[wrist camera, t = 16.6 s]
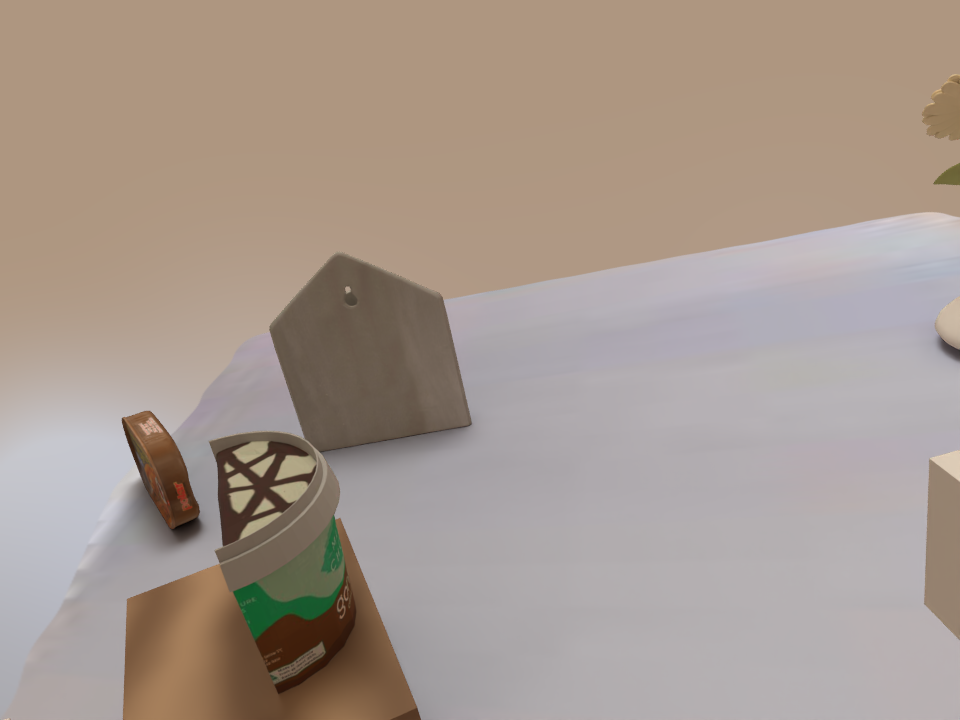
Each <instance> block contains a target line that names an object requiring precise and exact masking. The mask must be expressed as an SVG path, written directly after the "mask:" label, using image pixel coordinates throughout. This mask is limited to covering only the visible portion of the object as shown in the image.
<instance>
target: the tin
mask: <svg viewBox="0 0 960 720" xmlns="http://www.w3.org/2000/svg"><path fill="white" fill-rule="evenodd" d="M122 424H123V428H124V431H125V435H126V438H127V441H128V444H129V447H130V449H131V452H132V454H133V457H134V460H135V462H136V465H137V467H138V470H139V473H140V475H141V478H142V480H143V483H144V485H145V487H146V489H147V491H148V492H149V494H150V496H151V498H152V499H153V501H154V503H155V504H156V506H157V508H158V509H159V511H160V513H161V514H162V516H163V518H164V519H165V521H166V522H167V524H168V526H169V527H170V528H171V529H174V528H175V527H177V526H179V525H181V524H184V523H186V522H188V521H191V520H193V519H195V518H197V517H198V516H199V513H200V510H199V505H198V503H197V501H196V500H195V497H194V495H193V492H192V489H191V486H190V482H189V478H188V472H187V468H186V466H185V463H184V461H183V458H182V456H181V454H180V451H179V450H178V448H177V446H176V444H175V442H174V440H173V439H172V437H171V436H170V435H169V433H168V432H167V430H166V429H165V428H164V427H163V425H162V424H161V423H160V421H159V420H158V419H157V418H156V417H155V415H154V414H153V413H152V412H150V411H144V412H141V413H138V414H135V415H132V416H129V417H123V418H122Z"/></svg>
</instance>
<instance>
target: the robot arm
mask: <svg viewBox="0 0 960 720" xmlns="http://www.w3.org/2000/svg"><path fill="white" fill-rule="evenodd" d="M924 604H925V605H926V606H927V607H928V608H929V609H930V610H931V611H932V612H933V613H934V614H935V615H936V616H937V617H938V618H939V619H940V620H941V621H942V622H943V624H944V625H945V626H946V627H947V628H948V629H949V630H950V631H951V632H952V633H953V634H954V635H955V636H956V637H957V638H958V639H959V640H960V450H958V451H954V452H951V453H947V454H944V455H940V456H936V457H933V458H929V486H928V514H927V542H926V570H925V598H924ZM5 720H11V719H10V718H9V719H5Z"/></svg>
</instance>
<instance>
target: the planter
mask: <svg viewBox="0 0 960 720" xmlns="http://www.w3.org/2000/svg"><path fill="white" fill-rule="evenodd" d="M346 286H349V287H350V288H351V290H350V291H347V292H346V291H345V287H346ZM270 333H271V337H272V340H273V344H274V347H275V350H276V353H277V356H278V359H279V362H280V365H281V368H282V371H283V374H284V377H285V380H286V383H287V386H288V389H289V392H290V395H291V398H292V401H293V404H294V407H295V410H296V413H297V416H298V419H299V422H300V425H301V428H302V431H303V434H304V437H305V440H307V441H308V442H309V443H311V444H312V445H313V446H314V448H316V449H317V450H318V451H319V452H322V451H328V450H334V449H339V448H345V447H351V446H356V445H362V444H368V443H373V442H379V441H385V440H390V439H396V438H402V437H407V436H413V435H418V434H424V433H430V432H435V431H441V430H447V429H452V428H458V427H464V426H469V425H471V417H470V413H469V409H468V404H467V400H466V396H465V391H464V387H463V383H462V378H461V374H460V369H459V365H458V361H457V356H456V352H455V348H454V343H453V339H452V334H451V330H450V326H449V321H448V317H447V313H446V309H445V305H444V301H443V297H442V296H441V294H440V293H438V292H436V291H434V290H431V289H428V288H426V287H424V286H421V285H419V284H417V283H414V282H412V281H410V280H408V279H406V278H403V277H401V276H399V275H396V274H394V273H392V272H389V271H387V270H384V269H382V268H379V267H377V266H375V265H372V264H370V263H368V262H365V261H363V260H360V259H358V258H355V257H353V256H350V255H348V254H345V253H343V252H336V253H335V254H334V255H333V256H332V257H331V258H330V259H329V260H328V261H327V262H326V263H325V264H324V265H323V266H322V267H321V268H320V269H319V271H318V272H317V273H316V274H315V275H314V276H313V277H312V278H311V279H310V280H309V282H308V283H307V284H306V285H305V286H304V287H303V288H302V289H301V290H300V291H299V293H298V294H297V295H296V296H295V297H294V298H293V299H292V300H291V301H290V303H289V304H288V305H287V306H286V307H285V308H284V310H283V311H282V312H281V313H280V314H279V315H278V317H277V318H276V319H275V320H274V321H273V322H272V323H271V325H270Z"/></svg>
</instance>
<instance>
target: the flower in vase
mask: <svg viewBox="0 0 960 720" xmlns="http://www.w3.org/2000/svg"><path fill="white" fill-rule="evenodd" d="M931 98H932V100H933V101H934V102H935V103H932V104H928V105H927V106H926V107H925V108H924V110H923V112H922V116H923V117H924V118H923V120H922V122H923V123H924V124H926V125H931V126H930V127H929V128H928V129H927V135H929V136H933V135H935V137H936V138H938V139H940V138H944V137H946V136H948V135H950V136H949V140H958V139H960V75H957V74H956V75H952V76H951V77H949V79H948V80H947V82H946V83H944V84H943V85H942V87H941V89H940V90H937V91H935V92H934V93H933V94H932V96H931ZM934 184H949V185H960V163H959V164H957V165H955V166H953V167H951V168H949V169H948V170H946V171H945V172H944V173H942V174H941V175H940V176H939V177H938V178H937V180H936V181H935V182H934ZM935 329H936V331H937V332H938V334H939V335H940V336H941V338H942V339H943V340H944V341H945V342H946V343H948V344H949V345H951V346H953V347H955V348H957V349H959V350H960V297H958V298H956V299H955V300H953V301H952V302H951V303H949V304H948V305H947V306H946V307H944V308H943V309H942V310H941V312H940V313H939V315H938V317H937V319H936V321H935Z"/></svg>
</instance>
